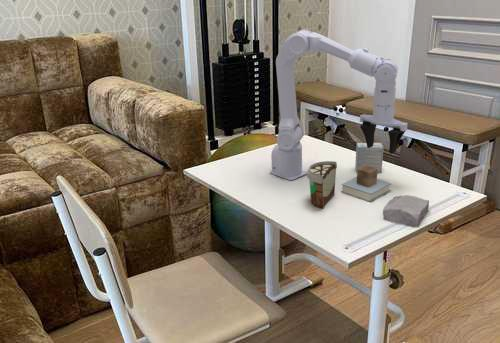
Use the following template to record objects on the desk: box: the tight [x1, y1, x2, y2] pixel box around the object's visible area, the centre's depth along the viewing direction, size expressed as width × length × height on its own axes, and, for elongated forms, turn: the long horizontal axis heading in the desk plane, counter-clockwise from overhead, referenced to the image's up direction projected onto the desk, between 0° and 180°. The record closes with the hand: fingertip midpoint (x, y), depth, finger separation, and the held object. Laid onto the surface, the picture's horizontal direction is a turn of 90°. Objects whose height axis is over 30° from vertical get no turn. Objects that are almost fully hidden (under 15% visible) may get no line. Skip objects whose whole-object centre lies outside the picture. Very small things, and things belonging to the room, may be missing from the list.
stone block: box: [382, 194, 430, 228], centre depth 129 cm, size 12×5×10 cm
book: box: [341, 176, 392, 203], centre depth 142 cm, size 10×10×2 cm
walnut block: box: [356, 165, 378, 187], centre depth 141 cm, size 4×4×4 cm
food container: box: [306, 160, 338, 210], centre depth 137 cm, size 12×6×10 cm, turn 152°
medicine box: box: [354, 142, 384, 174], centre depth 156 cm, size 8×4×9 cm, turn 84°
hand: (381, 149), depth 145 cm, fingers open, 7 cm apart
